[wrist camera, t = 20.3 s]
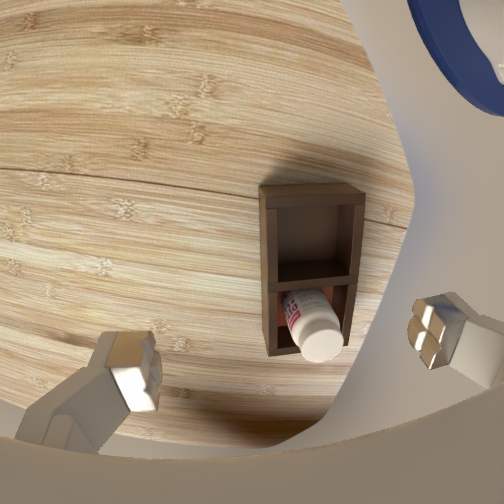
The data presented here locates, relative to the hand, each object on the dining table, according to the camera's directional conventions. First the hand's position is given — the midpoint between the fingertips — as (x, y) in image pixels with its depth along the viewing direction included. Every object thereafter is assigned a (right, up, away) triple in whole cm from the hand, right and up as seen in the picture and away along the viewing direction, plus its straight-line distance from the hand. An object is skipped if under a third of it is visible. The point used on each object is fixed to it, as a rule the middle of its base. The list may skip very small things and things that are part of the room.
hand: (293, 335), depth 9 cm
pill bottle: (+4, -3, +26) cm, 26 cm away
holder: (+4, +1, +25) cm, 25 cm away
